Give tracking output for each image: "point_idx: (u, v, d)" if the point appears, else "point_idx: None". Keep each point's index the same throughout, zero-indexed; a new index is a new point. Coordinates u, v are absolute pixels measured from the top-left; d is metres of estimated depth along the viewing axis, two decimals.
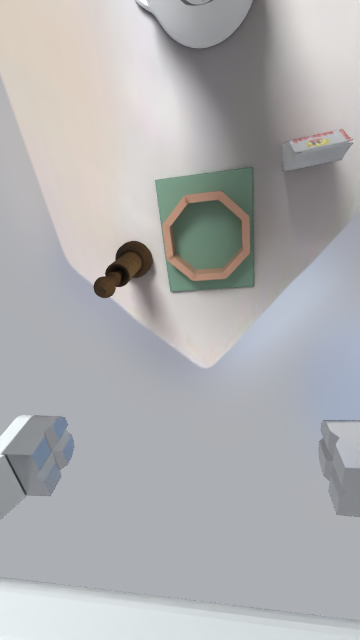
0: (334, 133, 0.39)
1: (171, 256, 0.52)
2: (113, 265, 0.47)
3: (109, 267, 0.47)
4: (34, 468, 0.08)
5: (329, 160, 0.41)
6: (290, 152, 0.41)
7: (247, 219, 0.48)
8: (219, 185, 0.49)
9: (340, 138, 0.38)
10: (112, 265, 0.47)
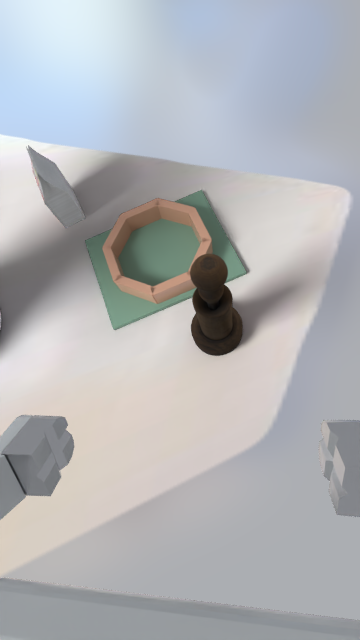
0: (34, 173, 0.45)
1: (188, 273, 0.39)
2: (199, 309, 0.29)
3: (203, 313, 0.29)
4: (34, 468, 0.08)
5: (54, 168, 0.45)
6: (53, 198, 0.44)
7: (124, 214, 0.44)
8: (106, 262, 0.45)
9: (31, 161, 0.43)
10: (199, 310, 0.29)
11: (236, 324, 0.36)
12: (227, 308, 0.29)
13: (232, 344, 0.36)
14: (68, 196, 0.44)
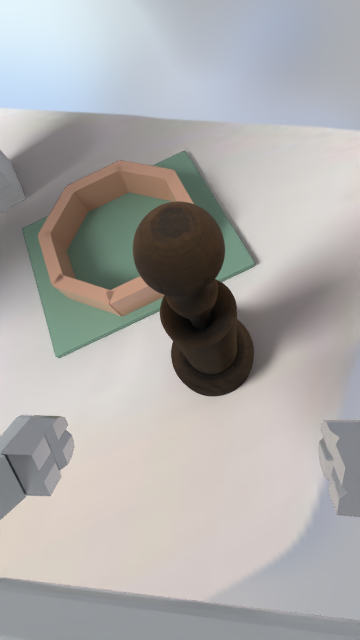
0: None
1: None
2: (172, 330, 0.15)
3: (181, 339, 0.15)
4: (34, 467, 0.08)
5: None
6: None
7: (71, 186, 0.30)
8: None
9: None
10: (172, 332, 0.15)
11: (244, 347, 0.22)
12: (227, 327, 0.14)
13: (238, 380, 0.22)
14: None
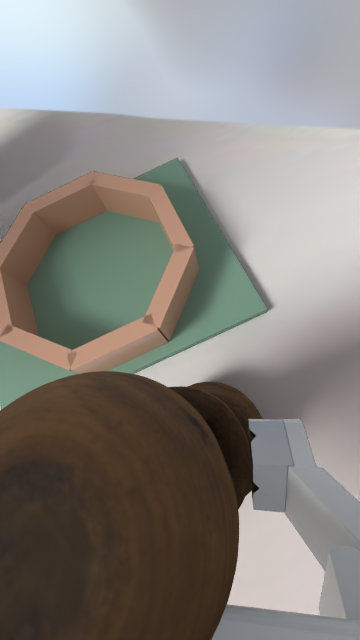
0: None
1: (145, 320, 0.18)
2: None
3: None
4: None
5: None
6: None
7: (30, 204, 0.23)
8: None
9: None
10: None
11: None
12: None
13: (246, 491, 0.15)
14: None
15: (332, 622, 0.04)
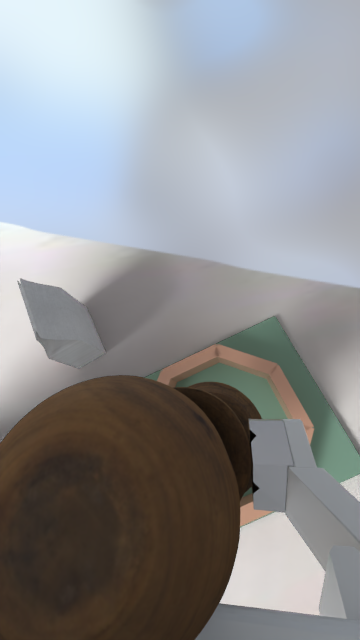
0: None
1: None
2: None
3: None
4: None
5: (60, 299, 0.31)
6: (60, 349, 0.29)
7: (167, 370, 0.29)
8: None
9: None
10: None
11: None
12: None
13: (247, 487, 0.16)
14: (82, 343, 0.30)
15: (332, 622, 0.04)
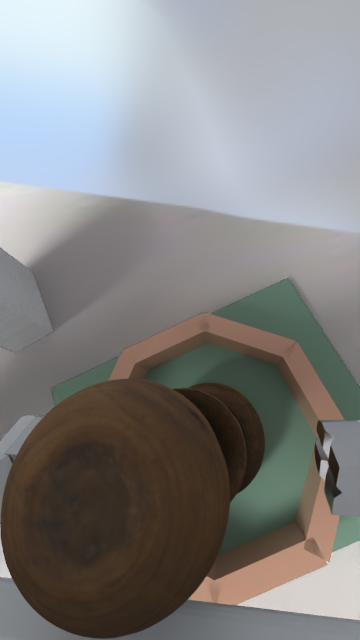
0: None
1: (307, 547, 0.15)
2: None
3: None
4: None
5: None
6: None
7: (130, 351, 0.20)
8: None
9: None
10: None
11: (252, 438, 0.17)
12: (232, 486, 0.09)
13: (245, 484, 0.16)
14: (7, 311, 0.20)
15: (332, 622, 0.04)
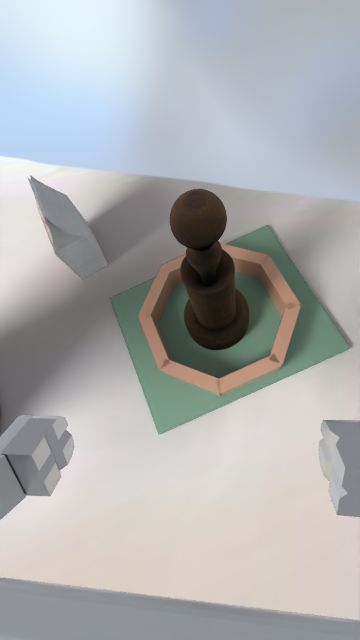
0: (39, 211, 0.33)
1: (271, 359, 0.26)
2: (189, 284, 0.21)
3: (196, 289, 0.21)
4: (34, 468, 0.08)
5: (67, 203, 0.33)
6: (66, 246, 0.31)
7: (166, 265, 0.31)
8: (141, 330, 0.33)
9: None
10: (189, 285, 0.21)
11: (241, 308, 0.28)
12: (228, 280, 0.21)
13: (237, 334, 0.28)
14: (87, 242, 0.32)
15: (332, 622, 0.04)
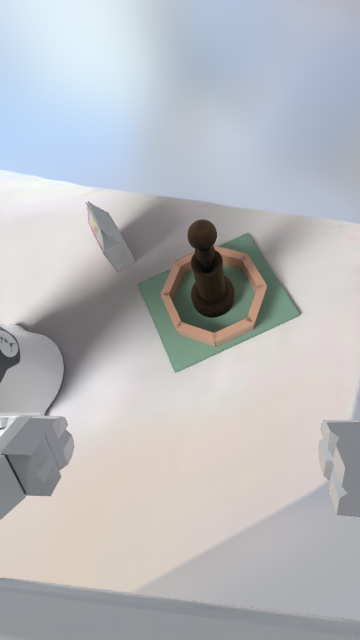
0: (90, 224, 0.47)
1: (247, 319, 0.41)
2: (196, 270, 0.36)
3: (200, 273, 0.36)
4: (34, 468, 0.08)
5: (109, 218, 0.48)
6: (110, 248, 0.46)
7: (178, 261, 0.46)
8: (161, 305, 0.47)
9: (89, 214, 0.46)
10: (196, 271, 0.36)
11: (229, 288, 0.43)
12: (219, 268, 0.35)
13: (226, 305, 0.43)
14: (124, 245, 0.47)
15: (332, 622, 0.04)
